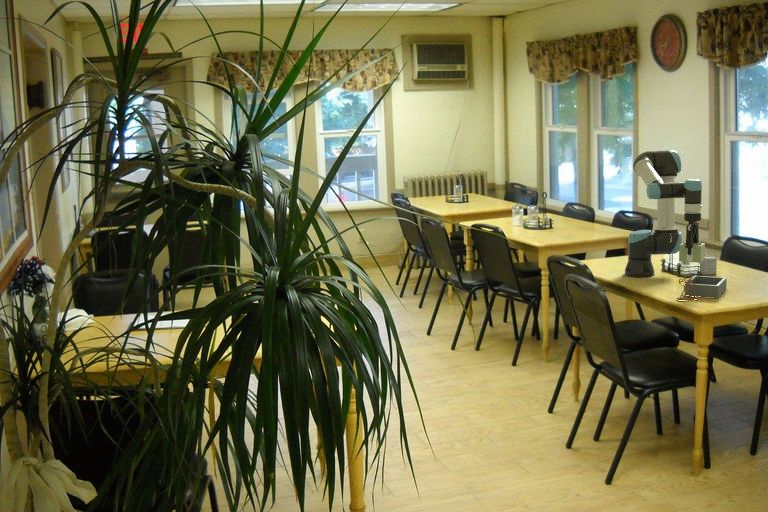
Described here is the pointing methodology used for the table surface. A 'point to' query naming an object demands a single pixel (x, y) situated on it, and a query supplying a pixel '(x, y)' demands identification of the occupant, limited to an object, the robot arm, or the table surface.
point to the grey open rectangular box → (707, 286)
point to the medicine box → (708, 266)
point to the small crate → (697, 252)
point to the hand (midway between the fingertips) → (692, 259)
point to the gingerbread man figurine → (687, 289)
